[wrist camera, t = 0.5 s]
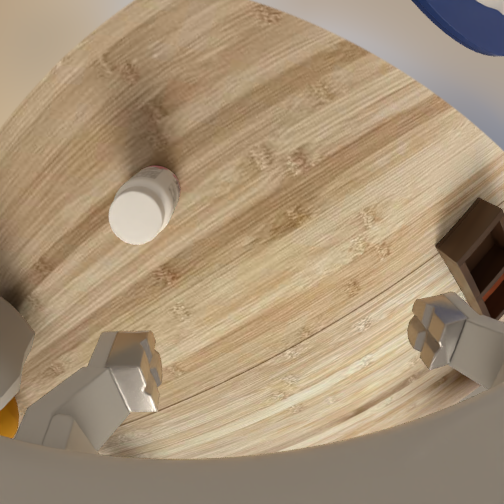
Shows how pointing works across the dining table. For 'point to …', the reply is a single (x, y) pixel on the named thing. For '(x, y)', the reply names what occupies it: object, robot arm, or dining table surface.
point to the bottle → (12, 350)
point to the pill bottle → (144, 205)
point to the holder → (478, 257)
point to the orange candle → (9, 419)
